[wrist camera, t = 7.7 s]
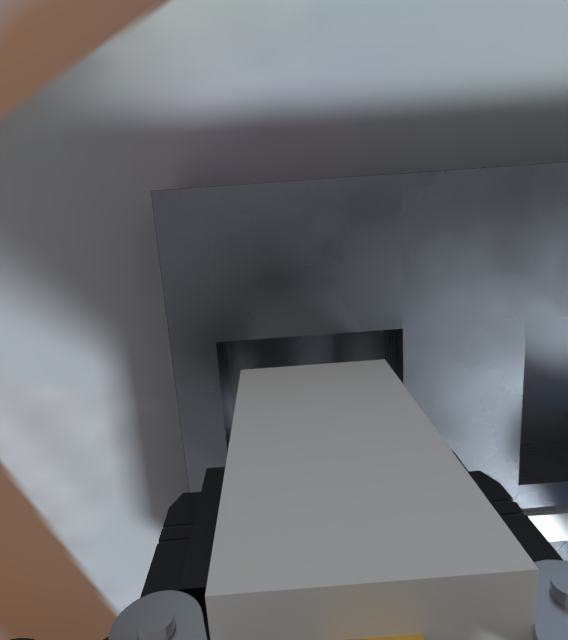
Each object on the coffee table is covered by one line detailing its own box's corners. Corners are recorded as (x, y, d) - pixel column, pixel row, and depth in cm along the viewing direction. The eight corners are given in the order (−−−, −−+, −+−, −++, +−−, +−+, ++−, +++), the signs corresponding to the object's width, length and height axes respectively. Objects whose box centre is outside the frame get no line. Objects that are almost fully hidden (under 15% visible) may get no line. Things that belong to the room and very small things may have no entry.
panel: (688, 156, 16) (787, 146, 13) (643, 526, 20) (713, 587, 16) (172, 192, 16) (149, 190, 13) (215, 559, 19) (205, 628, 16)
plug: (384, 359, 14) (591, 641, 5) (387, 487, 15) (564, 914, 6) (240, 369, 14) (192, 676, 5) (252, 497, 15) (229, 943, 6)
